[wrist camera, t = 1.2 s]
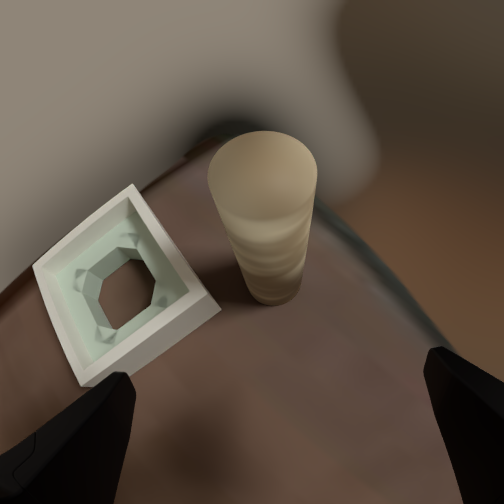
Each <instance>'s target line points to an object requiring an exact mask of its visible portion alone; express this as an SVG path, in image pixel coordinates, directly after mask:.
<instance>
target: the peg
mask: <svg viewBox="0 0 504 504" xmlns="http://www.w3.org/2000/svg"><path fill="white" fill-rule="evenodd" d="M316 180H317V167H316V163H315V160H314V158H313V156H312V154H311V152H310V151H309V150H308V149H307V147H306V146H304V145H303V144H302V143H301V142H300V141H298V140H297V139H295V138H293V137H291V136H288V135H286V134H283V133H279V132H273V131H257V132H251V133H247V134H243V135H240V136H238V137H236V138H234V139H232V140H230V141H229V142H227V143H226V144H225V145H223V146H222V147H221V148H220V149H219V150H218V152H217V153H216V154H215V156H214V157H213V159H212V161H211V163H210V166H209V169H208V185H209V188H210V191H211V193H212V196H213V199H214V201H215V204H216V207H217V209H218V212H219V215H220V217H221V220H222V222H223V225H224V228H225V230H226V233H227V236H228V238H229V241H230V243H231V246H232V249H233V251H234V254H235V256H236V259H237V261H238V264H239V267H240V269H241V272H242V274H243V277H244V279H245V282H246V285H247V287H248V290H249V292H250V294H251V295H252V296H253V297H254V298H255V299H256V300H257V301H258V302H260V303H262V304H265V305H269V306H278V305H282V304H285V303H287V302H289V301H290V300H292V299H293V298H294V297H295V295H296V294H297V293H298V291H299V289H300V285H301V280H302V274H303V268H304V262H305V256H306V250H307V243H308V237H309V230H310V224H311V217H312V210H313V203H314V195H315V188H316Z"/></svg>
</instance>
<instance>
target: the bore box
mask: <svg viewBox="0 0 504 504" xmlns="http://www.w3.org/2000/svg"><path fill="white" fill-rule="evenodd" d="M130 259H137V260H144V262H145V264H146V265H147V267H148V268H149V270H150V272H151V273H152V275H153V277H154V278H155V280H156V283H155V288H154V292H153V297H152V301H151V305H150V306H149V307H148V308H146V309H145V310H144V311H142V312H141V313H140V314H138V315H137V316H136V317H134V318H133V319H132V320H130V321H129V322H128V323H126V324H125V325H124V326H122V327H121V328H120V329H118V330H114V329H112V327H111V325H110V323H109V321H108V320H107V318H106V316H105V314H104V312H103V310H102V308H101V306H100V304H99V302H98V298H99V294H100V290H101V286H102V282H103V280H104V279H105V278H107V277H108V276H109V275H110V274H112V273H113V272H114V271H115V270H117V269H118V268H119V267H121V266H122V265H123V264H124V263H126V262H127V261H128V260H130ZM33 269H34V272H35V276H36V279H37V282H38V285H39V288H40V291H41V294H42V297H43V300H44V303H45V305H46V308H47V311H48V313H49V316H50V319H51V321H52V324H53V326H54V329H55V331H56V334H57V336H58V338H59V341H60V343H61V345H62V348H63V350H64V352H65V355H66V357H67V359H68V361H69V363H70V365H71V367H72V370H73V372H74V374H75V376H76V378H77V380H78V382H79V384H80V386H81V387H94V386H95V385H97V384H98V383H99V382H101V381H102V380H103V379H104V378H106V377H107V376H108V375H110V374H111V373H112V372H115V371H119V372H126V373H127V374H128V376H131V375H132V374H134V373H135V372H137V371H138V370H139V369H141V368H142V367H144V366H145V365H146V364H148V363H149V362H151V361H152V360H153V359H155V358H156V357H158V356H159V355H160V354H162V353H163V352H165V351H166V350H167V349H169V348H170V347H172V346H173V345H174V344H176V343H177V342H178V341H180V340H181V339H183V338H184V337H185V336H187V335H188V334H189V333H191V332H192V331H194V330H195V329H196V328H198V327H199V326H200V325H202V324H203V323H204V322H206V321H207V320H209V319H210V318H211V317H213V316H214V315H215V314H217V313H218V312H219V311H221V310H222V309H221V308H220V306H219V305H218V304H217V302H216V301H215V300H214V298H213V297H212V296H211V294H210V293H209V291H208V290H207V289H206V287H205V286H204V285H203V283H202V282H201V280H200V279H199V278H198V276H197V275H196V273H195V272H194V271H193V269H192V268H191V266H190V265H189V264H188V262H187V261H186V259H185V258H184V257H183V255H182V254H181V252H180V251H179V249H178V248H177V247H176V245H175V244H174V242H173V241H172V239H171V238H170V236H169V235H168V234H167V232H166V231H165V229H164V228H163V226H162V225H161V223H160V222H159V220H158V219H157V217H156V216H155V214H154V213H153V211H152V210H151V209H150V207H149V206H148V204H147V203H146V202H145V200H144V199H143V197H142V196H141V195H140V193H139V192H138V190H137V189H136V188H135V186H134V185H133V184H131V185H130V186H128V187H127V188H126V189H124V190H123V191H122V192H120V193H119V194H118V195H116V196H115V197H114V198H112V199H111V200H110V201H108V202H107V203H106V204H104V205H103V206H102V207H101V208H99V209H98V210H97V211H95V212H94V213H93V214H92V215H90V216H89V217H88V218H87V219H85V220H84V221H83V222H82V223H81V224H79V225H78V226H77V227H76V228H75V229H73V230H72V231H71V232H70V233H69V234H67V235H66V236H65V237H64V238H63V239H62V240H60V241H59V242H58V243H57V244H56V245H55V246H53V247H52V248H51V249H50V250H49V251H48V252H47V253H46V254H44V255H43V256H42V257H41V258H40V259H39V260H38V261H37V262H36V263H35V264H34V265H33Z"/></svg>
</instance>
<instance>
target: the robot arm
mask: <svg viewBox="0 0 504 504" xmlns="http://www.w3.org/2000/svg"><path fill="white" fill-rule="evenodd" d="M423 373H424V378H425V381H426V385H427V389H428V392H429V396H430V400H431V404H432V408H433V411H434V415H435V418H436V421H437V424H438V426H439V429H440V432H441V435H442V437H443V440H444V443H445V446H446V449H447V452H448V455H449V458H450V461H451V464H452V467H453V470H454V473H455V476H456V480H457V483H458V486H459V490H460V493H461V497H462V500H463V504H504V382H502V381H500V380H499V379H497V378H495V377H494V376H492V375H490V374H489V373H487V372H485V371H484V370H482V369H480V368H479V367H477V366H475V365H474V364H472V363H470V362H469V361H467V360H465V359H464V358H462V357H460V356H459V355H457V354H455V353H453V352H452V351H450V350H448V349H447V348H445V347H443V346H438V347H434V348H431V349H430V350H429V352H428V355H427V359H426V362H425V365H424V370H423ZM135 401H136V391H135V388H134V386H133V384H132V382H131V380H130V378H129V376H128V374H127V373H126V372H119V371H115V372H112V373H111V374H110V375H108V376H107V377H106V378H104V379H103V380H102V381H101V382H99V383H98V384H97V385H95V386H94V387H93V388H92V389H90V390H89V391H88V392H86V393H85V394H84V395H82V396H81V397H80V398H78V399H77V400H76V401H75V402H73V403H72V404H71V405H69V406H68V407H67V408H65V409H64V410H63V411H62V412H60V413H59V414H58V415H56V416H55V417H54V418H52V419H51V420H50V421H48V422H47V423H46V424H44V425H43V426H42V427H40V428H39V429H38V430H37V431H36V432H34V433H32V434H31V435H30V436H29V437H27V438H26V439H24V440H23V441H22V442H20V443H19V444H17V445H16V446H14V447H13V448H11V449H10V450H8V451H7V452H5V453H3V454H2V455H0V504H113V503H114V499H115V494H116V490H117V486H118V482H119V478H120V474H121V470H122V466H123V462H124V458H125V454H126V450H127V446H128V442H129V438H130V433H131V426H132V420H133V413H134V407H135Z"/></svg>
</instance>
